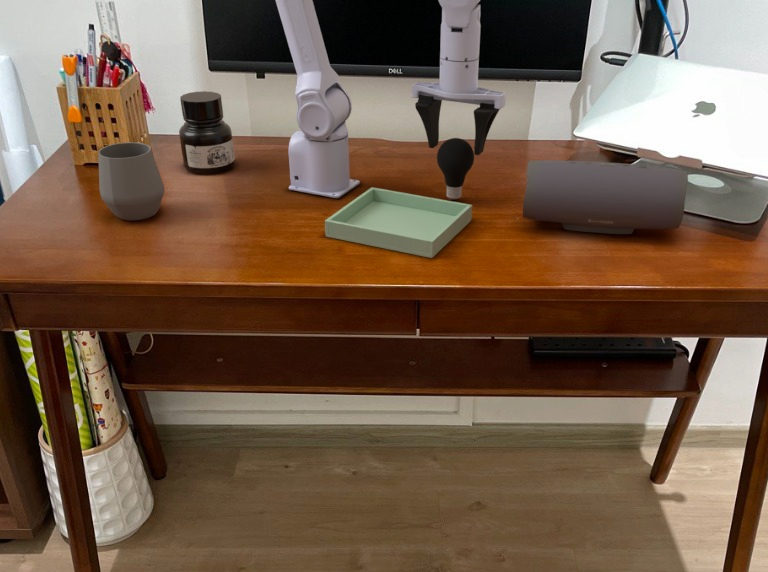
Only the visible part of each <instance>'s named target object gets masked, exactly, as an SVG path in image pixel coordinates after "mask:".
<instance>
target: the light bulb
mask: <svg viewBox="0 0 768 572" xmlns="http://www.w3.org/2000/svg"><path fill="white" fill-rule="evenodd" d="M436 161H437V166H438V167H439V169H440V170H441V172H442V174H443V177H444V183H445V186H446V194H445V195H446V197H447V199H449V200H450V201H452V202H457V201H458V200H459V199H461V197H462V195H463V194H462V192H463V190H462V189H463V186H464V183H465V179H466V176H467V174H468V173H469V171H470V170H471V169H472V167H473V165H474V161H475V154H474V148H473V147H472V145H471V144H470V143H469V142H468V141H466V140H465V139H463V138H459V137H452V138H448V139H447V140H445V141H444V142H442V143H441V145H440V146H439V147H438V150H437V153H436Z"/></svg>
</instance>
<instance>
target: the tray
mask: <svg viewBox="0 0 768 572" xmlns="http://www.w3.org/2000/svg"><path fill="white" fill-rule="evenodd" d="M472 216H473V204H468V203H464V202H458V201H452V200H447V199H442V198H441V199H440V198H436V197H429V196H423V195H418V194H412V193H407V192H401V191H395V190H390V189H384V188H378V187H370V188H368V189H367V190H366V191H365V192H363V193H362V194H359V196H357V197H355V199H353V200H352V201H350V202H349V203H347V204H346V205H345V206H343V207H341V208H340V209H339V210H338V211H336V212H334V214H332V215H331V216H329V217H328V218H325V220H324V234H325V235H324V236H325V237H326V238H332V239H337V240H341V241H345V242H350V243H356V244H361V245H365V246H371V247H376V248H380V249H385V250H391V251H395V252H399V253H404V254H410V255H415V256H420V257H425V258H428V259H429V258H430V259H433V258H434V257H435V256H436V255H437V254H438V253H439V252H440V251H441V250H442V249H443V248H445V246H447V245H448V244H449V242H451V241H452V240H453V239H454V238H455V237H456V236H457V235H458V234H459V233H460V232H461V231H462V230H464V228H465V227H466V226H467V225H468V224H470V222H471V221H472Z"/></svg>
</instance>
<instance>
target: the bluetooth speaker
mask: <svg viewBox="0 0 768 572" xmlns="http://www.w3.org/2000/svg"><path fill="white" fill-rule="evenodd" d="M688 183H689V175H688V172H687V171H685V170H681V169H675V168H669V167H660V166H653V165H652V166H651V165H643V164H632V163H621V162H609V161H608V162H607V161H606V162H605V161H589V160H588V161H586V160H557V159H556V160H555V159H554V160H553V159H546V160H545V159H543V160H542V159H541V160H539V159H538V160H528V161H527V165H526V185H525V193H524V197H523V205H522V218H525V219H530V220H536V221H542V222H549V223H555V224H561V225H562V227H563V229H564V230H567V231H573V232H574V231H575V232H583V233H594V234H595V233H596V234H610V235H631V234H633V232H634V231H635V230H674V229H675V230H676V229H679V228H680V227H681V224H682V221H683V218H684V215H685V214H684V213H685V202H686V196H687V195H686V194H687V188H688Z"/></svg>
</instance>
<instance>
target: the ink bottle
mask: <svg viewBox="0 0 768 572" xmlns="http://www.w3.org/2000/svg"><path fill="white" fill-rule="evenodd" d="M180 107H181V113H182V119H183V121H184V123H183V124H182V126H181V127H180V128H179V131H178V137H179V143H180V148H181V155H182V156H181V157H182V162H183V166H184V168H185V169H186V170H187V171H189V172H191V173H195V174H201V175H207V174H216V173H223V172H226V171H229V170H231V169H232V168H233V167H234V166H235V164H236V160H235V159H236V155H235V147H234V138H233V134H232V133H233V132H232V129H231V126H230V125H229V124H227V122H225V120H223V119H224V110H223V100H222V95H221V94H220V93H219V92H215V91H206V90H204V91H193V92H187V93H184V94H182V95H180Z"/></svg>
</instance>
